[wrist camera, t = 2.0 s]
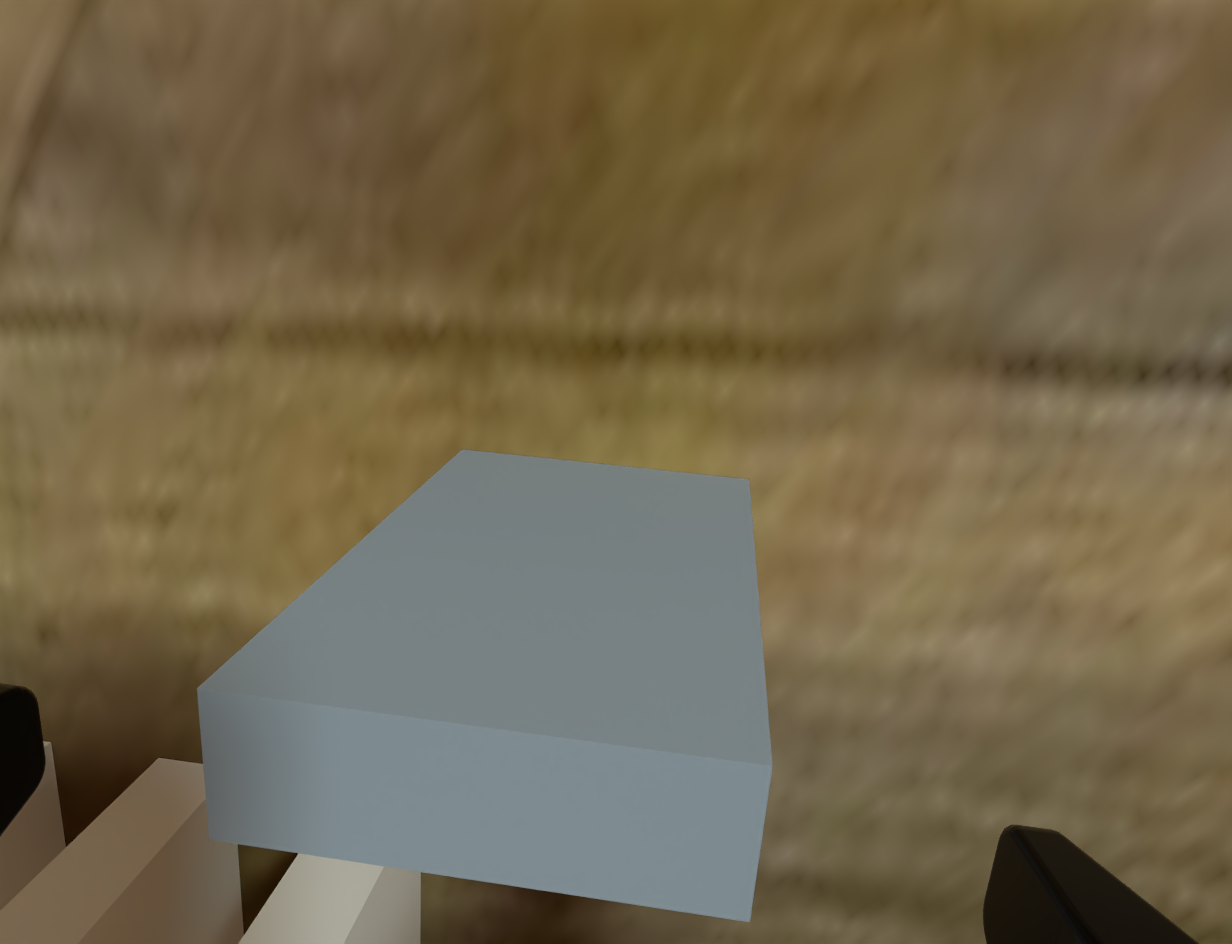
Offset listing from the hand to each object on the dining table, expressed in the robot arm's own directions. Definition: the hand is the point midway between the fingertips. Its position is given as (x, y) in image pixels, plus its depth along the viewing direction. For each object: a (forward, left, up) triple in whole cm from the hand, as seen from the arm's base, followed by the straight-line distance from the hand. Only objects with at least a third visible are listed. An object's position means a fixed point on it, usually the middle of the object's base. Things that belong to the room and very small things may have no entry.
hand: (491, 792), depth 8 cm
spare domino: (0, 0, -8) cm, 8 cm away
